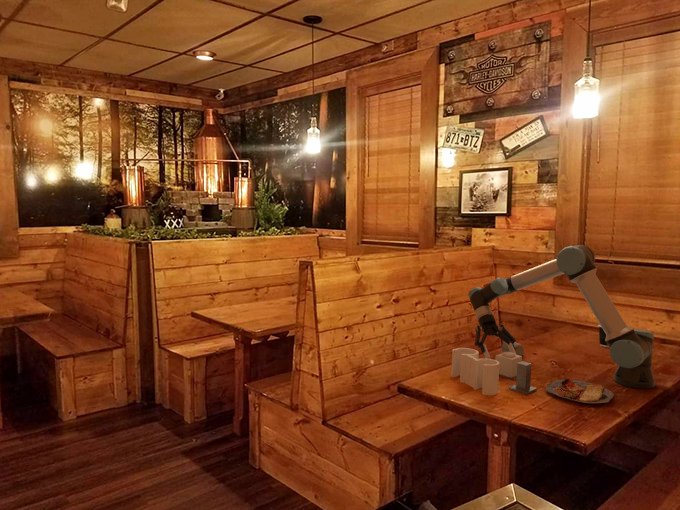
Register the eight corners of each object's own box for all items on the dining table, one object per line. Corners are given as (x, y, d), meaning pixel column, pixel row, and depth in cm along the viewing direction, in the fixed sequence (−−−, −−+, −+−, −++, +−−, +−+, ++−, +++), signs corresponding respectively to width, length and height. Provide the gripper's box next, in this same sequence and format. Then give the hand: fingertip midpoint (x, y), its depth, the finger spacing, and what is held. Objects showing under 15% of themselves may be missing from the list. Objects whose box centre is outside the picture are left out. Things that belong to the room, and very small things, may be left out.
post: (537, 390, 210) (538, 363, 209) (527, 394, 205) (528, 367, 204) (518, 385, 216) (520, 359, 215) (508, 389, 211) (510, 362, 209)
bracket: (503, 393, 206) (505, 364, 204) (482, 396, 202) (484, 366, 201) (468, 374, 229) (470, 347, 228) (449, 375, 226) (450, 348, 225)
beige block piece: (520, 374, 229) (522, 354, 228) (511, 377, 224) (512, 357, 223) (504, 369, 235) (505, 349, 234) (494, 372, 230) (495, 353, 229)
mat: (524, 375, 229) (524, 374, 229) (512, 379, 222) (512, 378, 222) (503, 369, 236) (503, 368, 236) (491, 373, 230) (491, 372, 230)
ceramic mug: (514, 359, 252) (515, 344, 251) (500, 355, 258) (501, 340, 258) (528, 357, 257) (529, 341, 257) (514, 353, 264) (515, 338, 264)
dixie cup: (596, 346, 279) (598, 326, 278) (597, 343, 286) (598, 323, 285) (613, 348, 276) (614, 328, 275) (613, 345, 283) (614, 325, 282)
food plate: (558, 379, 223) (559, 371, 223) (618, 393, 209) (619, 385, 208) (538, 397, 204) (539, 388, 204) (603, 414, 190) (604, 404, 189)
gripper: (505, 320, 253) (521, 360, 240) (458, 322, 246) (473, 363, 233) (512, 312, 247) (529, 352, 234) (464, 314, 240) (480, 355, 228)
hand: (501, 357), depth 234 cm, fingers open, 13 cm apart
